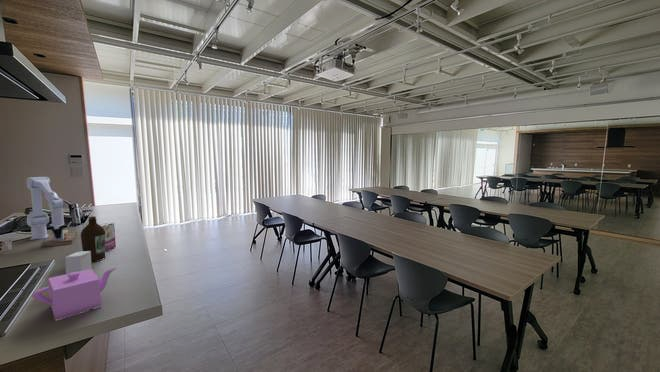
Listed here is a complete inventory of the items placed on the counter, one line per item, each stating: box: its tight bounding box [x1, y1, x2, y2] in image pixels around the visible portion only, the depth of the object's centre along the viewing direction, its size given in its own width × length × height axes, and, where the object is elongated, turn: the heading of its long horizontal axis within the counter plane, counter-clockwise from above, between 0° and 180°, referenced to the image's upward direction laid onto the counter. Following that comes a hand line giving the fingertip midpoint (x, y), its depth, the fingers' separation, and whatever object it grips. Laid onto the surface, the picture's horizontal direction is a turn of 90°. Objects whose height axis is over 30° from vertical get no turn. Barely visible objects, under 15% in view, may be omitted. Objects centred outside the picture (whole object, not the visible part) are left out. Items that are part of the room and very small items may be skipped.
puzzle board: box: [41, 229, 78, 248], centre depth 188 cm, size 24×14×4 cm, turn 37°
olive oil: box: [80, 215, 107, 263], centre depth 155 cm, size 11×11×25 cm
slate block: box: [51, 229, 65, 241], centre depth 182 cm, size 5×5×6 cm
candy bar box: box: [99, 222, 117, 251], centre depth 172 cm, size 11×5×16 cm, turn 179°
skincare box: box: [64, 250, 93, 275], centre depth 126 cm, size 8×6×15 cm
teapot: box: [31, 267, 118, 321], centre depth 108 cm, size 15×25×14 cm, turn 140°
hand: (59, 237), depth 183 cm, fingers closed on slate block, 5 cm apart
